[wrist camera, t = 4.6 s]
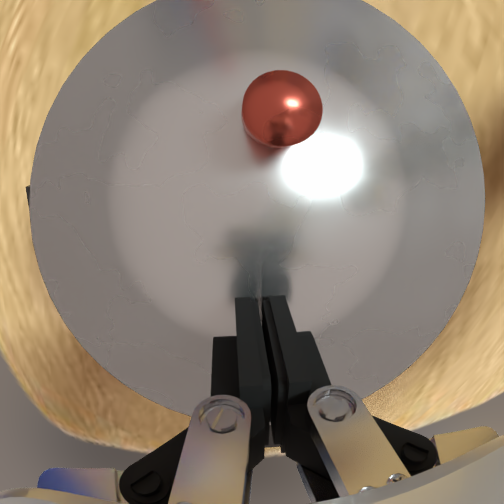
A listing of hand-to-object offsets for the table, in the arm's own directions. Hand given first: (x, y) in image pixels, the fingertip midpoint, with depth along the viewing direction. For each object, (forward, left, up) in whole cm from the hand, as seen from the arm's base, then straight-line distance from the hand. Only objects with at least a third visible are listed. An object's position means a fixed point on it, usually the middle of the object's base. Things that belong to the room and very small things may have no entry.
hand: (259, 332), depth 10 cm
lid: (-1, -2, -2) cm, 3 cm away
